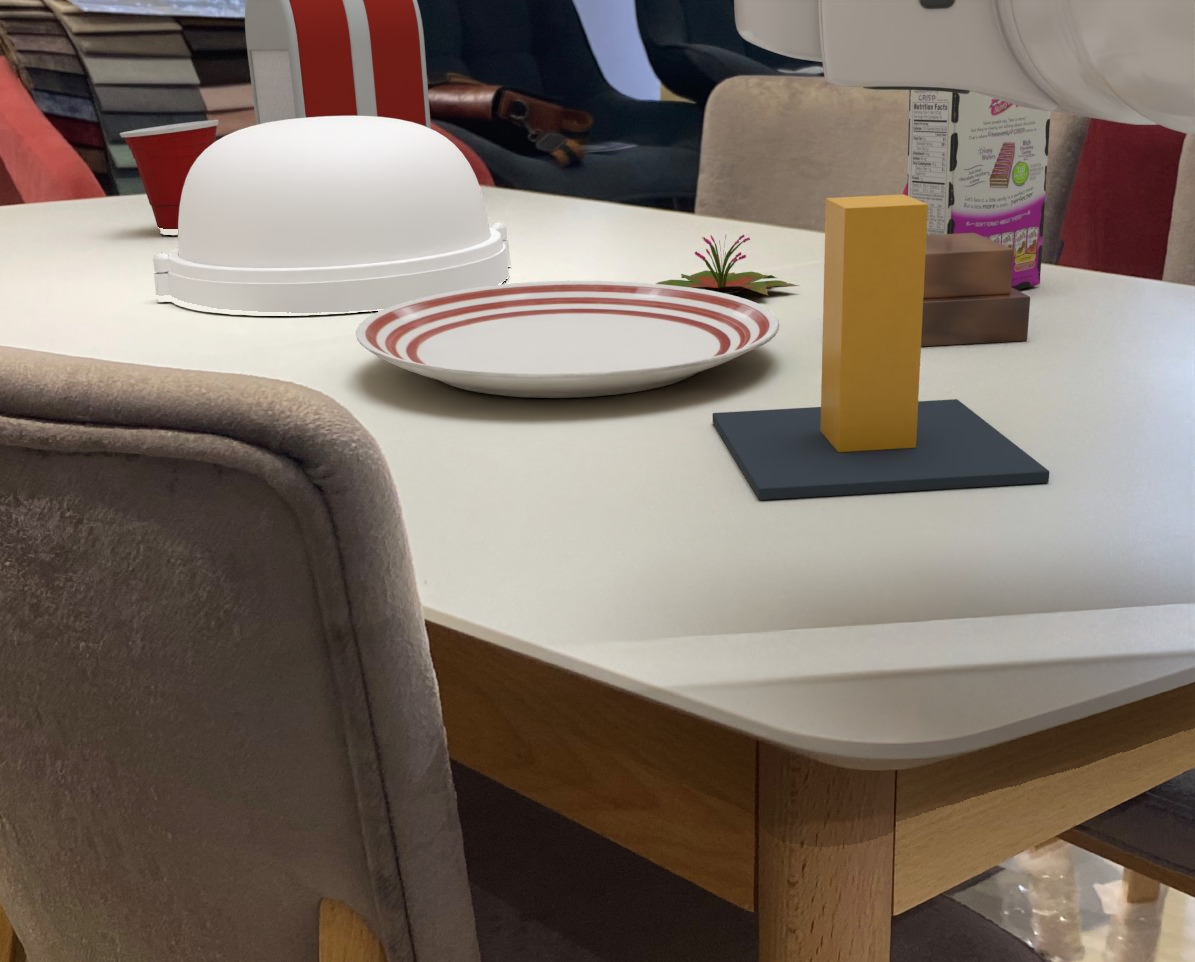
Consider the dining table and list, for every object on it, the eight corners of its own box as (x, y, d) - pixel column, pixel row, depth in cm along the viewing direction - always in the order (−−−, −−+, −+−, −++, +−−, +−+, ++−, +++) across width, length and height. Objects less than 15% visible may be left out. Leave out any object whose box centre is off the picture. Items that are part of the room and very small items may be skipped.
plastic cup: (153, 228, 169) (137, 120, 164) (244, 224, 168) (230, 117, 164) (121, 241, 159) (103, 128, 154) (217, 238, 158) (202, 124, 154)
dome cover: (461, 246, 146) (451, 100, 141) (569, 290, 120) (562, 114, 115) (137, 277, 135) (113, 120, 130) (180, 333, 109) (151, 141, 104)
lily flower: (620, 292, 119) (619, 236, 117) (737, 275, 125) (736, 221, 123) (705, 314, 109) (705, 252, 108) (827, 294, 115) (828, 235, 113)
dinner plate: (864, 356, 94) (865, 305, 93) (558, 447, 77) (555, 386, 76) (576, 309, 113) (575, 266, 111) (278, 375, 95) (272, 325, 94)
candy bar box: (991, 279, 118) (1005, 68, 112) (1041, 286, 115) (1058, 68, 108) (897, 298, 112) (906, 75, 106) (946, 306, 109) (959, 76, 102)
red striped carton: (439, 200, 183) (422, -30, 173) (309, 214, 175) (283, -27, 165) (386, 190, 197) (367, -24, 186) (262, 203, 188) (235, -21, 178)
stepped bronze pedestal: (978, 313, 106) (984, 230, 104) (1027, 341, 97) (1034, 250, 94) (845, 320, 105) (848, 236, 103) (881, 349, 96) (885, 258, 94)
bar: (894, 427, 76) (904, 194, 72) (916, 448, 72) (928, 203, 68) (820, 431, 76) (825, 198, 71) (838, 452, 72) (845, 207, 68)
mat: (956, 409, 81) (957, 398, 81) (1049, 483, 68) (1050, 470, 68) (712, 423, 80) (712, 412, 80) (759, 500, 68) (759, 488, 67)
